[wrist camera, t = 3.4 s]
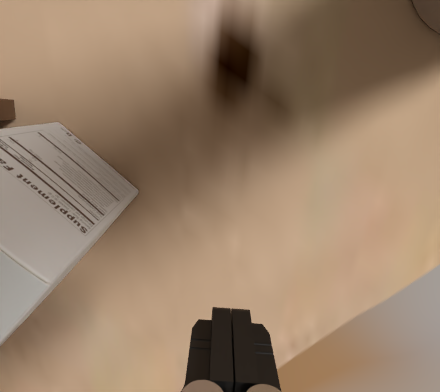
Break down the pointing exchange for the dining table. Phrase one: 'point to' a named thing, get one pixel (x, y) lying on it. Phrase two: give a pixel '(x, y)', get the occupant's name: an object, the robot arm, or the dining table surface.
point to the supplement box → (49, 213)
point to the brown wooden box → (7, 109)
